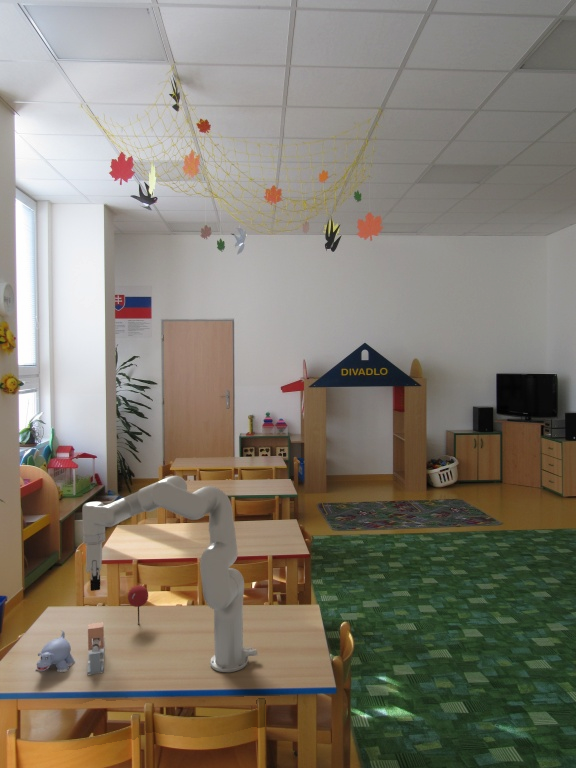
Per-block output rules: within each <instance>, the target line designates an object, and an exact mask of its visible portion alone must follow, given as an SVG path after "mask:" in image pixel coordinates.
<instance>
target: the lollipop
mask: <svg viewBox="0 0 576 768" xmlns="http://www.w3.org/2000/svg"><path fill="white" fill-rule="evenodd" d="M148 599H149V591H148V589H147V588H146V587H145V586H143V585H135V586H134V585H133V587H131V588H130V589H129V590H128V594H127V600H128V601H127V602H129V604H130V605H131V606H132V607H135V608H137V625H140V607H142V606H144V605H145V604H146V603H147V601H148Z"/></svg>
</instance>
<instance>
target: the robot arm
mask: <svg viewBox="0 0 576 768" xmlns="http://www.w3.org/2000/svg"><path fill="white" fill-rule="evenodd" d="M187 490H188V484H187V482H186V480H185V479H184V478H183V477H181V476H179V475H171V476H168V477H165V478H163V479H161V480H159V481H156V482H153V483H151V484H150V485H146V486H145V487H142V488H140V489H138V491H136V492H133V493H132V494H129V495H127V496H124V497H122V498H119V499H117V500H115V501H113V502H110V503H107V504H104V502H102V501H89V502H85V503H84V504H83V505H82V511H81V512H82V538H83V539H82V542H83V544H85V545H86V546H85V562H86V564H85V565H86V567H85V568H86V569H85V570H86V571H85V572H86V573H89V572H90V579H89V580H90V585H89V586H90V592H95V591H100V590H101V574H100V571H101V570H102V562H103V543H104V542H106V528H112V527H113V526H116V525H118V524H119V523H122V522H123V521H125V520H127V519H129V518H132V517H134V516H136V515H140V514H142V513H144V512H147V513H150V512H153V511H155V510H158V509H159V508H161V509H162V508H163V509H165V510H167V511H169V512H171V513H173V514H176V515H178V516H180V517H183V518H184V519H188V520H192V521H194V520H195V521H196V520H199V519H202V518H203V517H205V516H207V515H208V516H209V517H208V518H209V520H208V533H209V545H208V546H207V548H205V549H204V550H203V552H202V554H201V556H200V561H199V570H200V577H201V587H202V595H203V598H204V601H205V603H206V605H207V606H208V607H209V608H210V609H212V610H213V611H214V616H213V617H214V618H213V619H214V621H213V623H214V626H213V627H214V628H213V629H214V632H213V633H214V655H212V656H211V658H210V662H209V664H210V667H211V668H212V669H213V670H214V671H217V672H220V673H233V672H237V671H240V670H243V669H244V668H245V667H246V666H247V665H248V663H249V657H253V656H258V649H257V648H254V649H252V648H253V647H251V646H250V647H245V646H244V633H243V632H244V620H243V619H244V618H243V614H244V613H243V607H244V606H243V605H244V595H245V594H244V593H245V581H244V580H245V579H244V577H243V575H242V573H241V572H240V571H239V570H238V569H236V568H233V567H231V566H233V564H235V562H236V560H237V558H238V554H239V552H238V545H237V537H236V530H235V522H234V513H233V512H234V511H233V506H232V502H231V500H230V498H229V496H228V495H227V494H226V493H225V491H223V490H221V489H220V488H218V487H216V486H209V485H208V486H203V487H201V488H199V489H196V490H195V491H193V492H190V491H187Z"/></svg>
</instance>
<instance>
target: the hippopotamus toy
mask: <svg viewBox="0 0 576 768" xmlns="http://www.w3.org/2000/svg"><path fill="white" fill-rule="evenodd" d="M65 637H66V635H65V631H64V630H61V635H60V637H59V638H58V637H57V638H53V639H51V640H50V641H48V642H47V643H46V644H45V645H43V647H42V649H41V651H40V652H39V653H37V657H39V658H40V659H39V660H38V661H37V662H36V668H35V671H36V670H38V672H44V671H47V670H48V669H49V668H50V666H51V665H55V666H56V668H57V670H56V672H58V673H66V672H67V671H68V670H69V669H70V667H71V666H73V665H74V664H75V663H76V662H75V660H74V659H75V658H74V657H73V656H72V653H71V650H72V649H71V648H72V647H71V646H72V645H71V644H70V642H69V641H68V640H67V639H65ZM74 662H75V663H74ZM73 663H74V664H73ZM68 665H69V666H68Z"/></svg>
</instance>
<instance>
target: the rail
mask: <svg viewBox="0 0 576 768" xmlns="http://www.w3.org/2000/svg"><path fill="white" fill-rule="evenodd" d="M99 641H100V638H93V639H92V642H93V646H92V650H90V651H88V659H87V660H88V661H87V670H86V671H87V672H86V673H87V676H89V675H88V674H91V675H96V674H95V673H97V674H102V673H101V672H103V673H104V669H103V668H104V664H105V663H104V662H105V648H104V649H99Z"/></svg>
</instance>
